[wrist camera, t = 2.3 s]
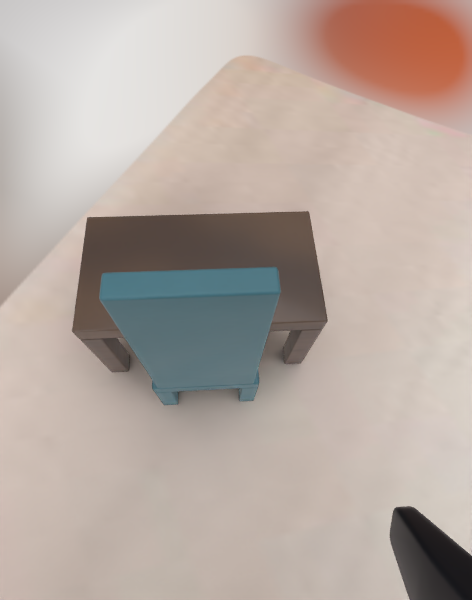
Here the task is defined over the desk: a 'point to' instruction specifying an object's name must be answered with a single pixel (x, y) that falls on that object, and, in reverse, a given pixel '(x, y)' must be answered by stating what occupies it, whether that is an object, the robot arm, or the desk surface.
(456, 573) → the robot arm
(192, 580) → the desk surface
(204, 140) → the desk surface
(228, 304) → the chair
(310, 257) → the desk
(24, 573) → the desk surface
